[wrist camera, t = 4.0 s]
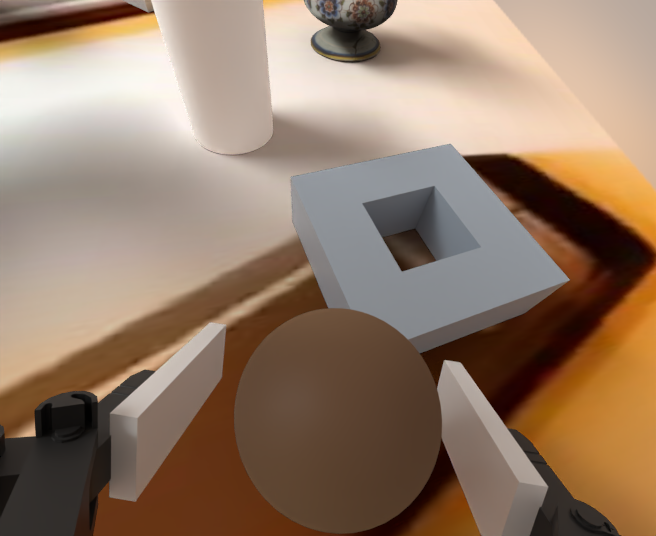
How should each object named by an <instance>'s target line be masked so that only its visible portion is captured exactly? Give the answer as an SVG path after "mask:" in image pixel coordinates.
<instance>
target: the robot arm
mask: <svg viewBox="0 0 656 536" xmlns="http://www.w3.org/2000/svg"><path fill="white" fill-rule="evenodd" d="M225 334H226V325H224V324H218V323H212V322H210V323H209V324H208V325H207V326H206V327H204V328H203V329H202V330H201V331H200V332H199V333H198V334H197V335H196V336H194V337H193V338H192V339H191V340H190V341H189V342H188V343H187V344H186V345H185V346H183V347H182V348H181V349H180V350H179V351H178V352H177V353H176V354H175V355H174V356H172V357H171V358H170V359H169V360H168V361H167V362H166V363H165V364H164V365H162V366H161V367H160V368H159V369H158V370H157V371H150V370H143V371H141V372H139V373H137V374H134V375H132V376H130V377H129V378H128V379H127V380H125V381H124V382H123V383H122V384H121V385H120V386H118V387H117V388H116V389H115V390H113V391H112V393H111V394H108V395H107V396H106V397H105V398H104V399H102V400H101V401H100V402H99V403H98V400H97V396H95V395H94V394H93V393H90V392H86V391H72V392H67V393H62V394H59V395H56V396H54V397H51V398H49V399H47V400H46V401H44V402H42V403H41V404H40V405H39V406H38V407H37V408H36V409H35V430H36V436H34V437H20V438H6V439H5V436H4V428H3V426H1V425H0V536H93V532H94V526H95V520H96V514H97V508H98V494H99V492H100V491H101V490H102V489H103V488H104V486H105V485H106V484H107V483H108V482H109V497H112V498H117V499H123V500H129V501H136V500H137V499H138V497H139V496H140V494H141V493H142V491H143V490H144V489H145V487H146V486H147V484H148V483H149V481H150V480H151V478H152V477H153V476H154V474H155V473H156V471H157V470H158V468H159V467H160V466H161V464H162V463H163V461H164V460H165V458H166V457H167V455H168V454H169V453H170V451H171V450H172V448H173V447H174V445H175V444H176V443H177V441H178V440H179V438H180V437H181V435H182V434H183V433H184V431H185V430H186V428H187V427H188V425H189V424H190V422H191V421H192V420H193V418H194V417H195V415H196V414H197V412H198V411H199V410H200V408H201V407H202V405H203V404H204V402H205V401H206V399H207V398H208V397H209V395H210V394H211V392H212V391H213V389H214V388H215V387H216V385H217V384H218V382H219V381H220V379H221V378H222V369H223V357H224V345H225ZM437 391H438V395H439V400H440V404H441V414H442V436H441V437H442V440H443V442H444V445H445V447H446V450H447V452H448V455H449V457H450V460H451V462H452V465H453V467H454V470H455V472H456V475H457V477H458V480H459V482H460V485H461V487H462V489H463V492H464V494H465V497H466V499H467V502H468V504H469V507H470V509H471V512H472V514H473V517H474V519H475V522H476V524H477V527H478V529H479V532H480V534H481V536H621V535H619V534H618V532H617V530H616V528H615V527H614V526H613V525H612V524H611V522H610V521H609V520H608V519H607V518H606V517H605V516H603V515H602V514H601V513H600V512H598V511H597V510H596V509H594V508H592V507H591V506H589V505H587V504H586V503H584V502H581V501H579V500H576V499H574V498H573V497H572V495H571V494H570V493H569V492H568V490H567V489H566V488H565V486H564V485H563V484H562V482H561V481H560V480H559V478H558V477H557V476H556V474H555V473H554V472H553V471H552V469H551V468H550V467H549V466H548V465H547V463H546V461H545V460H544V459H543V457H542V456H541V455H539V452H538V451H537V450H536V448H535V447H534V446H533V444H532V443H531V442H530V441H529V440H528V439H527V438H526V437H525V436H523V435H522V434H521V433H520V432H518V431H517V430H514V429H508V428H506V426H505V425H504V423H503V422H502V421H501V419H500V418H499V416H498V415H497V413H496V412H495V411H494V409H493V408H492V406H491V405H490V403H489V402H488V401H487V399H486V398H485V396H484V395H483V394H482V392H481V391H480V389H479V388H478V386H477V385H476V384H475V382H474V381H473V379H472V378H471V377H470V375H469V374H468V372H467V371H466V369H465V368H464V367H463V365H462V364H461V363H460V362H454V361H448V360H444V362H443V366H442V371H441V375H440V379H439V383H438V387H437Z"/></svg>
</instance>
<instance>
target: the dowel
mask: <svg viewBox="0 0 656 536" xmlns="http://www.w3.org/2000/svg"><path fill="white" fill-rule="evenodd" d="M234 428H235V435H236V442H237V446H238V450H239V453H240V457H241V460H242V462H243V464H244V467H245V469H246V472H247V474H248V475H249V477H250V479H251V480H252V482H253V484H254V485H255V487H256V488H257V490H258V491H259V492H260V493H261V495H262V496H263V497H264V498H265V500H266V501H268V502H269V503H270V504H271V505H272V506H273V507H274V508H275V509H276V510H277V511H278V512H280V513H281V514H283V515H284V516H286V517H287V518H289V519H290V520H292V521H294V522H296V523H298V524H300V525H302V526H305V527H307V528H310V529H314V530H317V531H321V532H328V533H337V534H342V533H356V532H360V531H364V530H369V529H372V528H374V527H377V526H379V525H381V524H384V523H386V522H387V521H389V520H391V519H392V518H394V517H395V516H397V515H399V514H400V513H401V512H402V511H403V510H404V509H405V508H407V507H408V506H409V505H410V504H411V503H412V502H413V501H414V499H415V498H416V497H417V496H418V495H419V493H420V492H421V491H422V489H423V487H424V486H425V484H426V483H427V481H428V479H429V477H430V475H431V473H432V471H433V468H434V466H435V463H436V460H437V456H438V453H439V449H440V443H441V436H442V414H441V404H440V400H439V395H438V391H437V388H436V385H435V382H434V379H433V377H432V374H431V372H430V370H429V368H428V366H427V364H426V363H425V361H424V359H423V358H422V356H421V355H420V353H419V352H418V351H417V349H416V348H415V347H414V346H413V344H412V343H411V342H410V341H409V340H408V339H407V338H406V337H405V336H404V335H403V334H401V333H400V332H399V331H398V330H397V329H395V328H394V327H392V326H391V325H389V324H388V323H386V322H385V321H383V320H381V319H379V318H377V317H375V316H372V315H369V314H367V313H364V312H360V311H356V310H351V309H343V308H327V309H319V310H314V311H310V312H306V313H304V314H301V315H299V316H296V317H294V318H292V319H290V320H288V321H286V322H285V323H283V324H282V325H280V326H279V327H278V328H276V329H275V330H274V331H273V332H271V333H270V334H269V335H268V336H267V337H266V338H265V339H264V340H263V341H262V342H261V344H260V345H259V346H258V347H257V348H256V350H255V351H254V353H253V354H252V356H251V357H250V359H249V361H248V363H247V365H246V367H245V369H244V371H243V374H242V376H241V379H240V382H239V385H238V390H237V394H236V399H235V408H234Z"/></svg>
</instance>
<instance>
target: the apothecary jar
mask: <svg viewBox="0 0 656 536" xmlns="http://www.w3.org/2000/svg"><path fill="white" fill-rule="evenodd" d="M304 2H305V5H306V6H307V8H308V9H309V11H310V12H311V13H312V14H313V15H314V16H315V17H316V18H317V19H319V20H320V21H321V22H323V23H325V24H327V25H329V26H328V27H326V28H324V29H321V30H319V31H318V32H316V33H315V34H314V35H313V36H312V38H311V46H312V47H313V49H314V50H315V51H316V52H318V53H319V54H321V55H323V56H325V57H327V58H330V59H334V60H338V61H346V62H357V61H363V60H367V59H370V58H372V57H374V56H375V55H377V54H378V52H379V51H380V43H379V41H378V39H377V38H376V37H375V36H374V35H373V34H372V33H370V32H368V31H366V29H370V28H374V27H376V26H378V25H380V24H382V23H383V22H385V21H386V20H387V19H388V18H389V17H390V16H391V15H392V14H393V12H394V10H395V8H396V5H397V0H304Z"/></svg>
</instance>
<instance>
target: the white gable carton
mask: <svg viewBox="0 0 656 536" xmlns="http://www.w3.org/2000/svg"><path fill="white" fill-rule="evenodd" d="M123 1H125V2H128V3H130V4H132V5H134V6H136V7H138V8H140V9H142V10H144V11H147V12H151V11H154V8H153V5H152V2H151V0H123Z"/></svg>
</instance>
